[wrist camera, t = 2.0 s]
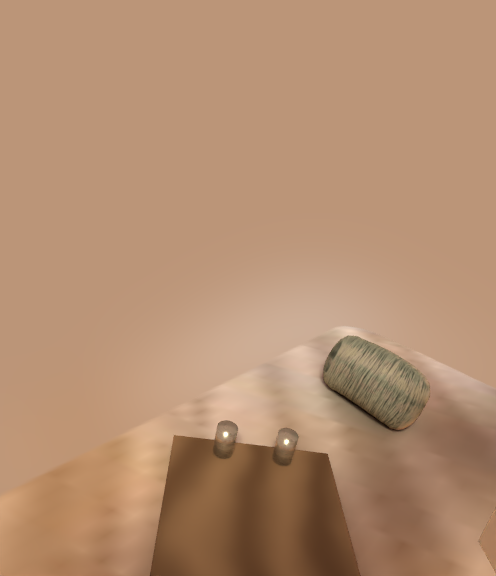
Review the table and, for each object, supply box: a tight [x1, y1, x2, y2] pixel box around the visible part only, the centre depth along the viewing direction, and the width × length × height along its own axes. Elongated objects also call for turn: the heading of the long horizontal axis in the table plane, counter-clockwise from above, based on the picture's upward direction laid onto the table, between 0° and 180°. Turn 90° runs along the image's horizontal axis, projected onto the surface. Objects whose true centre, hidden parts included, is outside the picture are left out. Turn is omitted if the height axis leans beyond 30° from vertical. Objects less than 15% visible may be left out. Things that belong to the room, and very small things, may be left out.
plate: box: [150, 435, 360, 576], centre depth 40 cm, size 16×16×2 cm
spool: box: [323, 336, 430, 430], centre depth 59 cm, size 14×10×10 cm
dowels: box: [213, 421, 298, 466], centre depth 45 cm, size 8×2×3 cm, turn 92°
